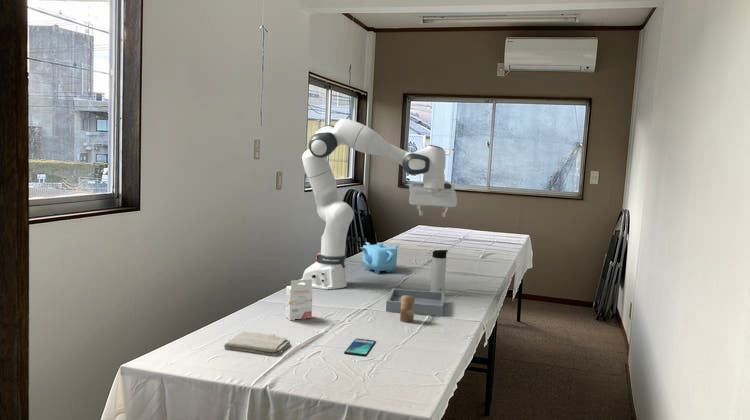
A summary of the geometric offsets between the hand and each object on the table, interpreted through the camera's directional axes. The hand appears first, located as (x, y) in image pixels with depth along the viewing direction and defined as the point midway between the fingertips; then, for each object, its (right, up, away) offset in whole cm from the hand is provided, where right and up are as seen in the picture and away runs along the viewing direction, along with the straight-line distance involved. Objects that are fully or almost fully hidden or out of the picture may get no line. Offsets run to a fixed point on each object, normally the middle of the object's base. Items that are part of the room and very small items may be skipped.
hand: (432, 216), depth 251 cm
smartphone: (-29, -42, -63) cm, 81 cm away
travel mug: (+3, -35, +12) cm, 37 cm away
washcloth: (-61, -40, -67) cm, 99 cm away
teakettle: (-23, -29, +55) cm, 66 cm away
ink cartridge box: (-52, -37, -35) cm, 73 cm away
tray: (-8, -36, -11) cm, 39 cm away
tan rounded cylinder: (-12, -38, -31) cm, 51 cm away
